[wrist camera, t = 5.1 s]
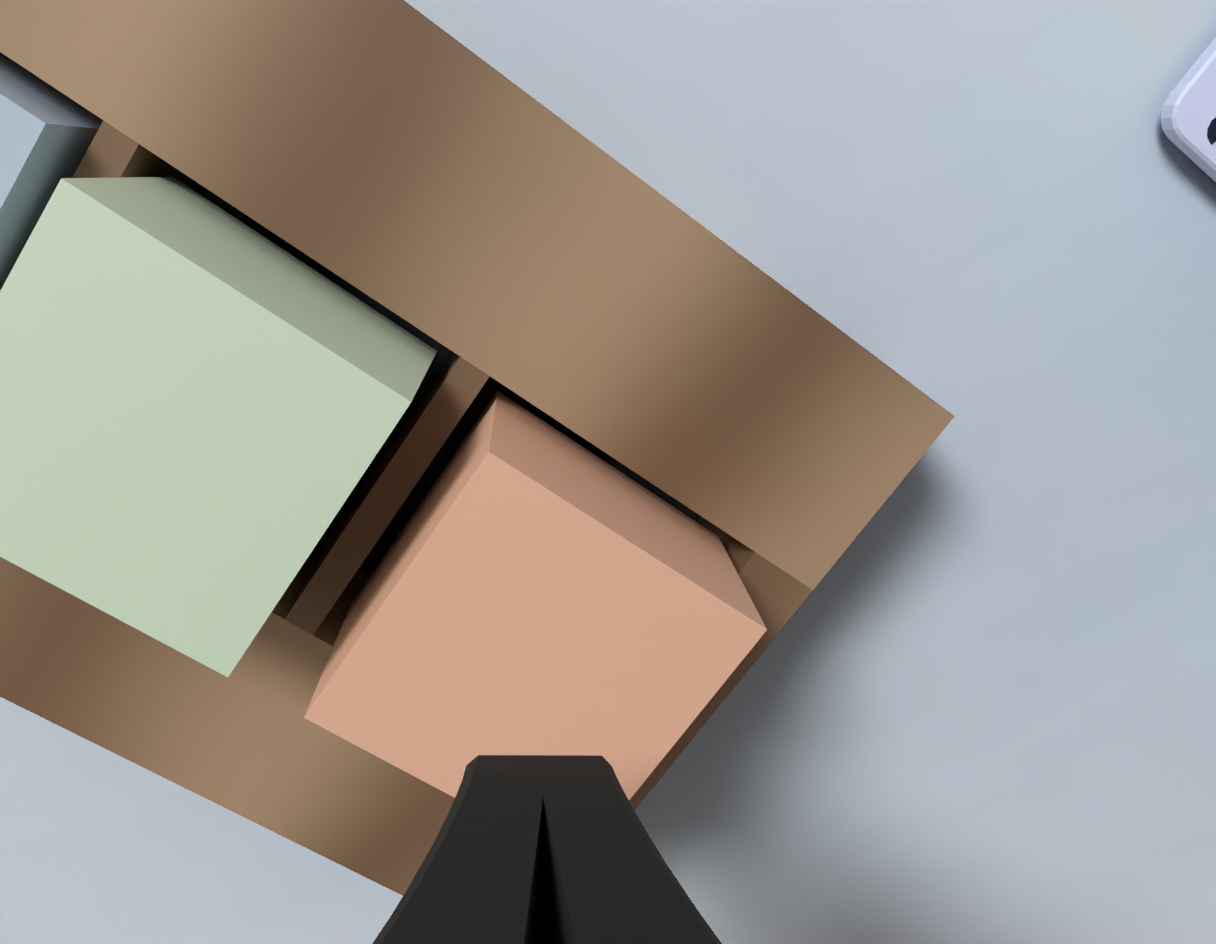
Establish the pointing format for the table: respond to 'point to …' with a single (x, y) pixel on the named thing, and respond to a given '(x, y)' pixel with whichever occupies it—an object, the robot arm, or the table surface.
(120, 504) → the sage key
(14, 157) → the slate key
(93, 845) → the table surface
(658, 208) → the brown wooden tray
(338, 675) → the terracotta key
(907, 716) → the table surface
